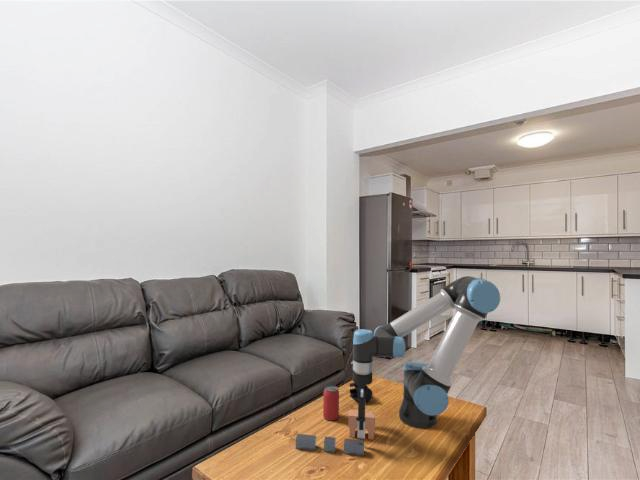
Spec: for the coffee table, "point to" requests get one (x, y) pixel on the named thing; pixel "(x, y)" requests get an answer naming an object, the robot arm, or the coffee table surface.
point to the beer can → (331, 403)
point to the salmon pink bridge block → (368, 423)
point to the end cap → (354, 393)
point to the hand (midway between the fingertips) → (361, 427)
